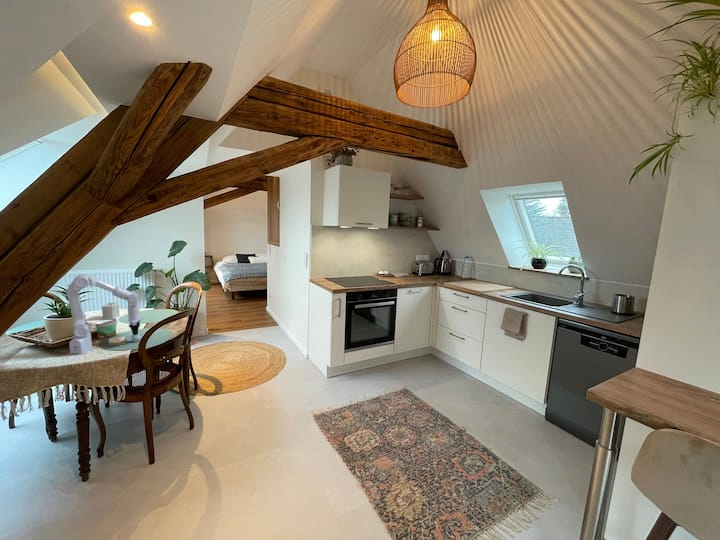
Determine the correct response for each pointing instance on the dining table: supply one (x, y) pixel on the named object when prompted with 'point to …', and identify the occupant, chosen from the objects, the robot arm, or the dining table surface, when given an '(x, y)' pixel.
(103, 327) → the food container
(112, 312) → the light bulb box
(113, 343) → the base slab
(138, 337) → the cylinder
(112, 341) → the top block
